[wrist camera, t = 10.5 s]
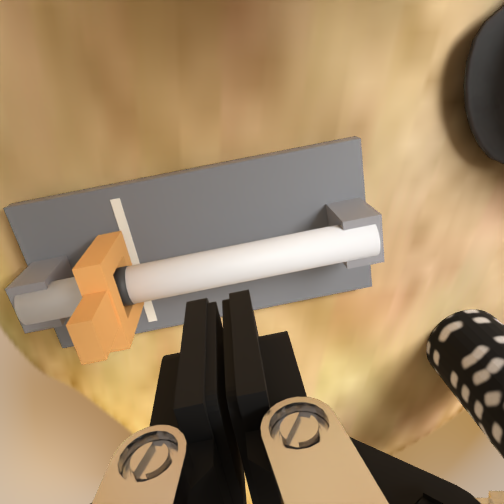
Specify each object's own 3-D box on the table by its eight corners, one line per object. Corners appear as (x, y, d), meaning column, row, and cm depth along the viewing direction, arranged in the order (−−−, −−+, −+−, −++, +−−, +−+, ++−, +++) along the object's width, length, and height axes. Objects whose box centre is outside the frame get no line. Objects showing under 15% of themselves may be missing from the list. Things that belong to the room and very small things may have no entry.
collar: (121, 230, 35) (84, 290, 25) (144, 303, 38) (119, 383, 28) (97, 235, 35) (50, 297, 25) (122, 307, 38) (88, 390, 28)
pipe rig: (354, 136, 36) (388, 149, 29) (366, 279, 42) (397, 319, 35) (11, 203, 36) (-37, 232, 29) (67, 339, 41) (37, 391, 34)
